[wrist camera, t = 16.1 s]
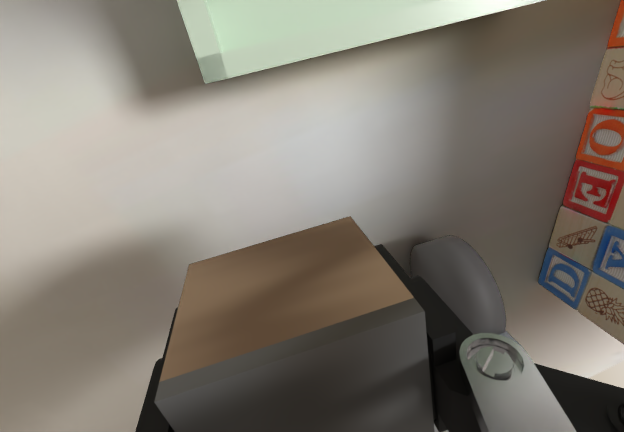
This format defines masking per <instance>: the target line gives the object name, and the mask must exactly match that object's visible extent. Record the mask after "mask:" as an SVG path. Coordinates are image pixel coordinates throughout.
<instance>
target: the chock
mask: <svg viewBox="0 0 624 432" xmlns="http://www.w3.org/2000/svg"><path fill="white" fill-rule="evenodd" d="M154 403H155V404H156V405H157V407H158V408H159V410H160V411H161V413H162V414H163V416H164V417H165V418H166V420H167V421H168V423H169V424H170V426H171V427H172V428H173V430H174V431H175V432H435V431H434V419H433V407H432V394H431V382H430V370H429V357H428V345H427V333H426V320H425V311H424V310H423V308H422V307H421V306H420V304H419V303H418V302H417V301H416V299H415V298H414V297H413V296H412V294H411V293H410V292H409V290H408V289H407V288H406V287H405V285H404V284H403V283H402V282H401V280H400V279H399V278H398V276H397V275H396V274H395V273H394V271H393V270H392V269H391V267H390V266H389V265H388V264H387V262H386V261H385V260H384V259H383V257H382V256H381V255H380V253H379V252H378V251H377V250H376V248H375V247H374V246H373V245H372V243H371V242H370V241H369V239H368V238H367V237H366V236H365V234H364V233H363V232H362V230H361V229H360V228H359V227H358V225H357V224H356V223H355V222H354V220H353V219H352V218H351V216H349V217H346V218H343V219H339V220H336V221H333V222H329V223H326V224H323V225H319V226H316V227H313V228H309V229H306V230H303V231H299V232H296V233H293V234H289V235H286V236H283V237H279V238H276V239H272V240H269V241H266V242H262V243H259V244H256V245H252V246H249V247H246V248H242V249H239V250H236V251H232V252H229V253H226V254H222V255H219V256H216V257H212V258H209V259H206V260H202V261H199V262H196V263H192V264H189V267H188V271H187V275H186V279H185V283H184V287H183V291H182V294H181V298H180V302H179V306H178V310H177V314H176V318H175V322H174V326H173V330H172V334H171V338H170V342H169V346H168V350H167V354H166V358H165V362H164V366H163V370H162V374H161V378H160V381H159V385H158V389H157V393H156V397H155V401H154Z"/></svg>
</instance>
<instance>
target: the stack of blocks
mask: <svg viewBox="0 0 624 432" xmlns="http://www.w3.org/2000/svg"><path fill="white" fill-rule="evenodd" d="M538 283H539V284H540V285H542V286H543V287H544V288H546V289H547V290H549V291H550V292H551V293H553V294H554V295H555V296H557V297H558V298H560V299H561V300H563V301H564V302H565V303H567V304H568V305H569V306H571V307H572V308H573V309H576V310H578V312H579V313H580V314H581V315H583V316H584V317H586V318H587V319H589V320H590V321H591V322H593V323H594V324H596V325H597V326H598V327H600V328H601V329H603V330H604V331H605V332H607V333H608V334H610V335H611V336H613V337H614V338H615V339H617V340H618V341H620V342H621V343H623V344H624V0H621V2H620V5H619V9H618V12H617V15H616V18H615V22H614V25H613V28H612V32H611V35H610V38H609V41H608V47H607V50H606V52H605V54H604V58H603V61H602V64H601V67H600V70H599V74H598V77H597V80H596V83H595V87H594V90H593V94H592V97H591V101H590V110H589V113H588V115H587V119H586V124H585V128H584V131H583V134H582V137H581V141H580V144H579V147H578V151H577V154H576V161H575V163H574V166H573V169H572V172H571V175H570V179H569V182H568V185H567V189H566V192H565V196H564V199H563V205H562V206H561V207H560V210H559V213H558V216H557V220H556V223H555V227H554V230H553V233H552V236H551V240H550V243H549V248H548V249H547V252H546V256H545V259H544V262H543V266H542V270H541V273H540V276H539V280H538Z"/></svg>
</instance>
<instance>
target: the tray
mask: <svg viewBox="0 0 624 432" xmlns="http://www.w3.org/2000/svg"><path fill="white" fill-rule="evenodd" d="M541 1H545V0H177V3H178V6H179V9H180V12H181V15H182V18H183V21H184V24H185V26H186V29H187V32H188V35H189V38H190V41H191V44H192V47H193V50H194V53H195V56H196V59H197V62H198V65H199V67H200V70H201V73H202V76H203V79H204V82H205V84H208V83H212V82H216V81H220V80H224V79H228V78H232V77H236V76H240V75H244V74H248V73H252V72H256V71H260V70H264V69H268V68H273V67H277V66H281V65H285V64H289V63H293V62H297V61H301V60H305V59H309V58H313V57H317V56H321V55H325V54H329V53H333V52H338V51H342V50H346V49H350V48H354V47H358V46H362V45H366V44H370V43H374V42H378V41H382V40H386V39H390V38H394V37H398V36H403V35H407V34H411V33H415V32H419V31H423V30H427V29H431V28H435V27H439V26H443V25H447V24H451V23H455V22H459V21H463V20H467V19H472V18H476V17H480V16H484V15H488V14H492V13H496V12H500V11H504V10H508V9H512V8H516V7H520V6H524V5H528V4H532V3H537V2H541Z"/></svg>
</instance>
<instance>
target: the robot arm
mask: <svg viewBox="0 0 624 432" xmlns="http://www.w3.org/2000/svg"><path fill="white" fill-rule="evenodd" d="M374 247H375V248H376V250H377V251H378V252H379V253H380V255H381V256H382V257H383V259H384V260H385V261H386V262H387V264H388V265H389V266H390V267H391V269H392V270H393V271H394V273H395V274H396V275H397V276H398V278H399V279H400V280H401V282H402V283H403V284H404V285H405V287H406V288H407V289H408V290H409V292H410V293H411V294H412V296H413V297H414V298H415V299H416V301H417V302H418V303H419V304H420V306H421V307H422V308H423V310H424V311H425V320H426V333H427V345H428V357H429V370H430V382H431V394H432V407H433V419H434V424H435V426H436V428H437V430H438V431H439V432H444V431H446V430H448V431H449V432H624V388H620V387H616V386H613V385H609V384H606V383H602V382H598V381H595V380H591V379H588V378H584V377H581V376H577V375H574V374H570V373H567V372H563V371H559V370H556V369H552V368H549V367H545V366H542V365H538V364H535V363H533V361H532V360H531V358H530V356H529V355H528V354H527V352H526V351H525V350H524V349H523V348H522V347H521V346H520V345H519V344H517V343H516V342H514V341H513V340H511V339H509V338H507V337H504V336H502V335H498V334H493V333H479V334H475V335H474V334H473V333H472V332H471V331H470V330H469V329H468V328H467V327H466V326H465V324H464V323H463V322H462V321H461V320H460V319H459V318H458V317H457V316H456V314H455V313H454V312H453V311H452V310H451V309H450V308H449V307H448V306H447V305H446V303H445V302H444V301H443V300H442V299H441V298H440V297H439V296H438V295H437V293H436V292H435V291H434V290H433V289H432V288H431V287H430V286H429V285H428V283H427V282H426V281H425V280H424V279H423V278H422V277H421V276H418V275H417V276H414V277H411V278H410V277H409V276H408V275H407V274H406V273H405V271H404V270H403V269H402V268H401V267H400V265H399V264H398V263H397V262H396V261H395V259H394V258H393V257H392V256H391V255H390V253H389V252H388V251H387V250H386V249H385V248H384V246H383V245H381V244H380V245H377V246H374ZM177 310H178V308H176V310H175V313H174V317H173V321H172V324H171V328H170V332H169V336H168V339H167V343H166V347H165V351H164V354H163V358H161V359H159V360H158V361H157V362H156V364H155V366H154V369H153V372H152V376H151V379H150V383H149V386H148V390H147V393H146V397H145V400H144V404H143V407H142V411H141V414H140V418H139V421H138V425H137V428H136V432H175V431H174V430H173V428H172V427H171V426H170V424H169V423H168V421H167V420H166V418H165V417H164V416H163V414H162V413H161V411H160V410H159V408H158V407H157V405H156V404H155V403H154V401H155V397H156V393H157V389H158V385H159V381H160V378H161V374H162V370H163V366H164V362H165V358H166V354H167V350H168V346H169V342H170V338H171V334H172V330H173V326H174V322H175V318H176V314H177Z"/></svg>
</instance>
